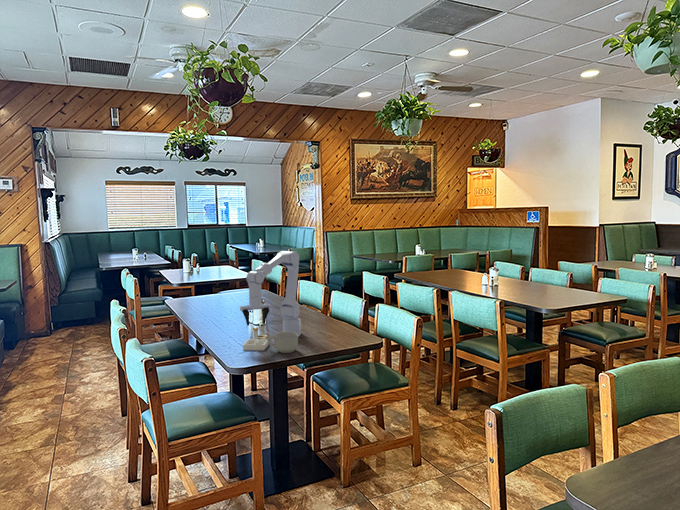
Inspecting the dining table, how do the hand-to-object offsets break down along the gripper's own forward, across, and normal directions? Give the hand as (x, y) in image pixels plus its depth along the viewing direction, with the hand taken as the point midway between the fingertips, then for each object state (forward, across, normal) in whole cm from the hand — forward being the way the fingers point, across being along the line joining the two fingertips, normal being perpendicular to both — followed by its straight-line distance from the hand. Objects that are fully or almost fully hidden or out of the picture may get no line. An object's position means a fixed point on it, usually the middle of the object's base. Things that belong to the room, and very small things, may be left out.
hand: (255, 324), depth 223 cm
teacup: (+10, -8, +15) cm, 20 cm away
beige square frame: (+10, -3, -4) cm, 12 cm away
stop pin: (+10, +1, +3) cm, 10 cm away
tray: (+10, +1, +3) cm, 11 cm away
